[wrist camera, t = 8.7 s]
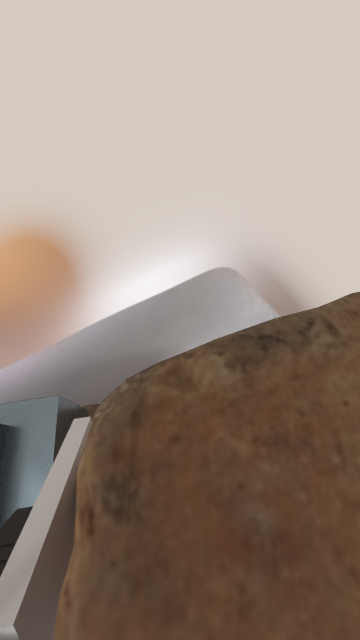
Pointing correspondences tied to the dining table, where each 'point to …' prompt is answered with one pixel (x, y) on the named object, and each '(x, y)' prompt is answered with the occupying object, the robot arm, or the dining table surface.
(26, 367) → the dining table surface
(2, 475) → the block
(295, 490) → the block
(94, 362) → the dining table surface
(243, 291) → the dining table surface
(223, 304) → the dining table surface
